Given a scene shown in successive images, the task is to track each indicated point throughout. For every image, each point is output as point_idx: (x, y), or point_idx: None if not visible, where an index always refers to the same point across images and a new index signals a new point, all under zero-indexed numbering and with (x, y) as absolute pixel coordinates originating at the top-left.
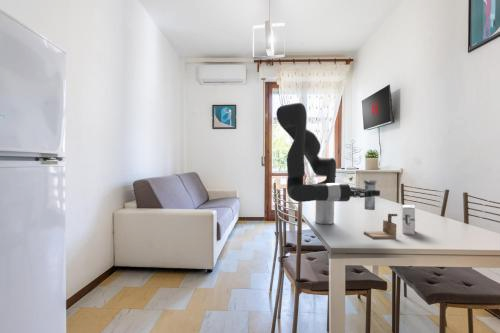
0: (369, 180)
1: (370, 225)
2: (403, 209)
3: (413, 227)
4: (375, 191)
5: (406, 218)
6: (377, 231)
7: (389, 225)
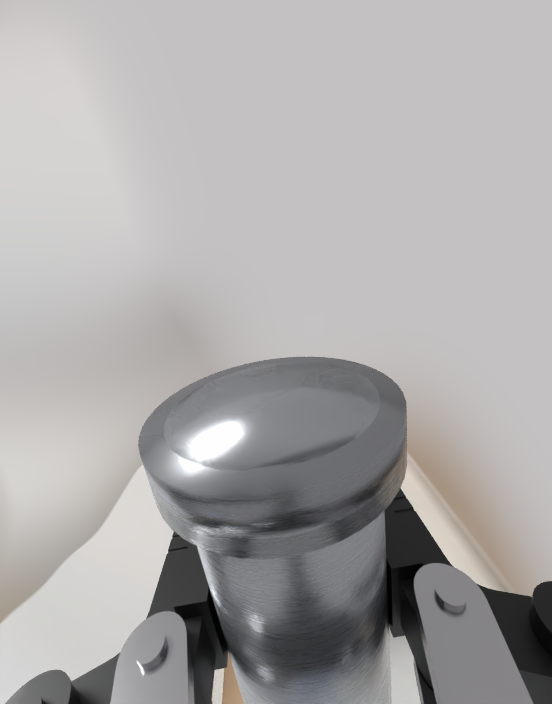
0: (278, 406)
1: (46, 642)
2: None
3: None
4: (387, 508)
5: None
6: (228, 680)
7: None
